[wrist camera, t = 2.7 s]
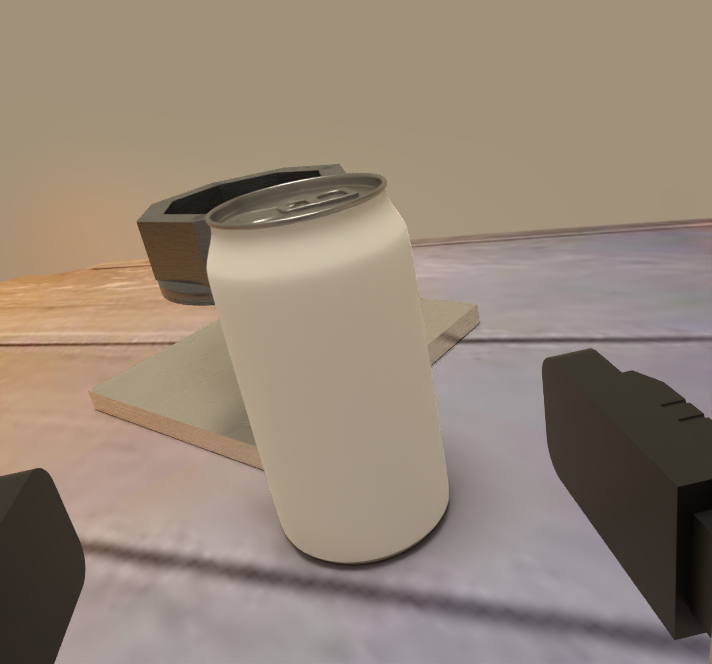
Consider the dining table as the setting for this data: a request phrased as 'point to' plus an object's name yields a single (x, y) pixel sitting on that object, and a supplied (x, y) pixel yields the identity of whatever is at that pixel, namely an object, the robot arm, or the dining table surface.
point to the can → (332, 363)
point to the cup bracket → (217, 329)
